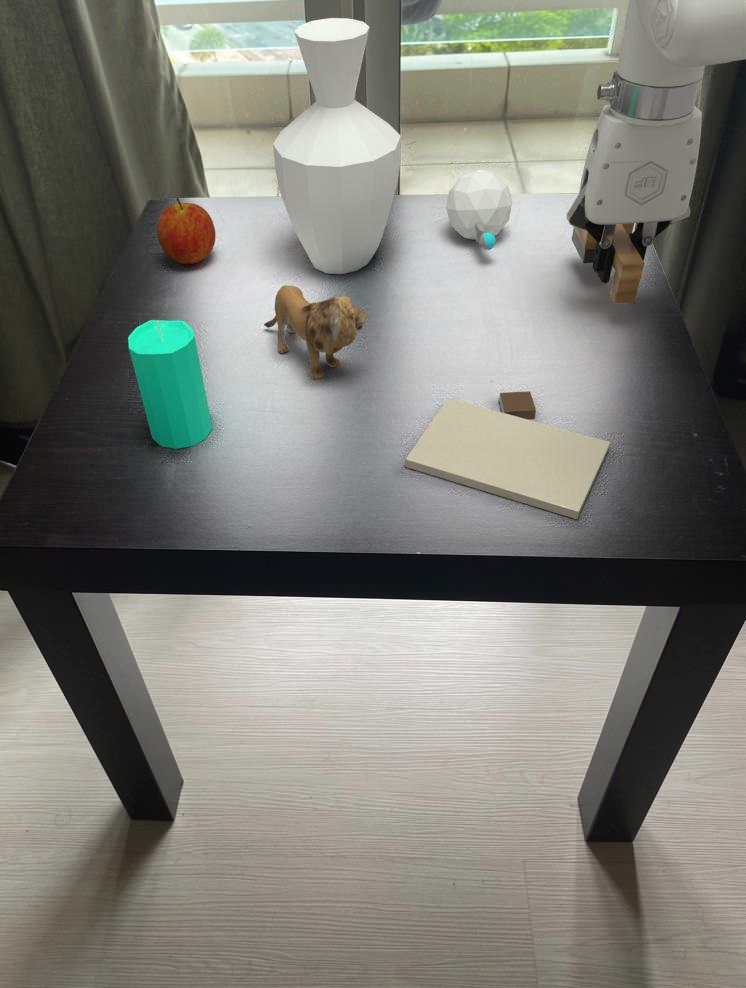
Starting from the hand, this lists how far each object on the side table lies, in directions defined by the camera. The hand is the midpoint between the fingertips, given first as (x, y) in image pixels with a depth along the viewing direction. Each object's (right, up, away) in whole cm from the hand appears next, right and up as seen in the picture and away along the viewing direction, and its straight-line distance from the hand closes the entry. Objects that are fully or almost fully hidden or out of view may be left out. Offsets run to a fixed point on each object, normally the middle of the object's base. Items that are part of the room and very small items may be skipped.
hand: (615, 274), depth 91 cm
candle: (-45, -18, -9) cm, 49 cm away
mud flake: (-13, -16, -9) cm, 22 cm away
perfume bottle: (-13, +8, +14) cm, 21 cm away
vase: (-30, +6, +13) cm, 33 cm away
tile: (-14, -21, -14) cm, 29 cm away
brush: (0, +1, +3) cm, 3 cm away
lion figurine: (-33, -9, -1) cm, 34 cm away
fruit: (-48, +6, +14) cm, 51 cm away
